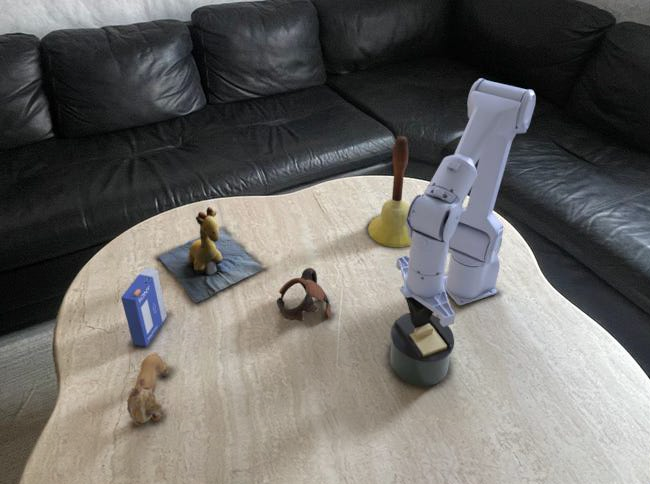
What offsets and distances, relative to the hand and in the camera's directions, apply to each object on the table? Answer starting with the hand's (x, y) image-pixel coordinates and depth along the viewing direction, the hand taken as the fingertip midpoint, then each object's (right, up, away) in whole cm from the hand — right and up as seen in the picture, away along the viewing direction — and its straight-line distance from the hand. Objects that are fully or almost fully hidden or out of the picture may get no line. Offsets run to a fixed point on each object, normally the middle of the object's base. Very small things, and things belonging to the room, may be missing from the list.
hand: (419, 324), depth 87 cm
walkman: (-49, -4, +9) cm, 50 cm away
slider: (+1, -2, -2) cm, 3 cm away
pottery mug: (-20, -2, +14) cm, 24 cm away
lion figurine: (-44, -12, -4) cm, 45 cm away
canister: (0, -7, +3) cm, 8 cm away
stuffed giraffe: (-41, +5, +25) cm, 48 cm away
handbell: (+1, +10, +35) cm, 37 cm away
